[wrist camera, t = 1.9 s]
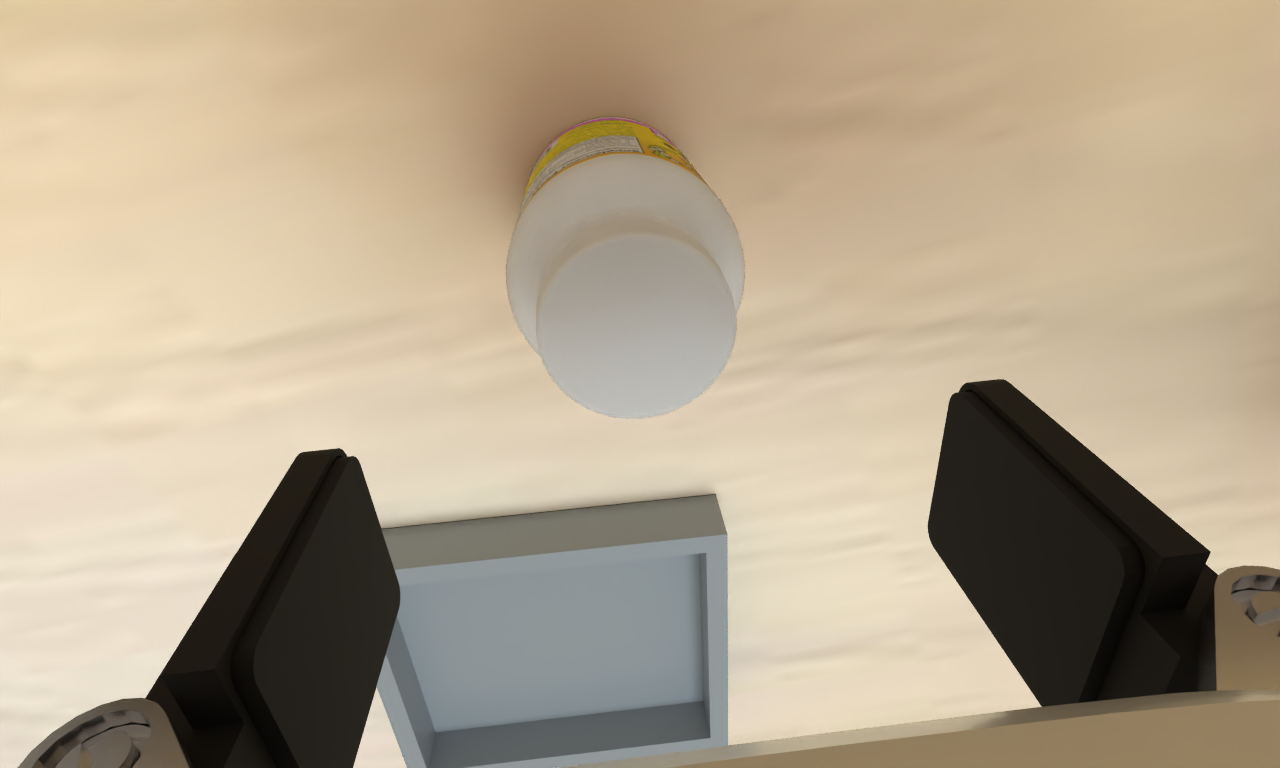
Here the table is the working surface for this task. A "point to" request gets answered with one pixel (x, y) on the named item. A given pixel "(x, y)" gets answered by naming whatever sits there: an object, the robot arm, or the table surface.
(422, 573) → the tray
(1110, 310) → the table surface
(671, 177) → the supplement bottle
